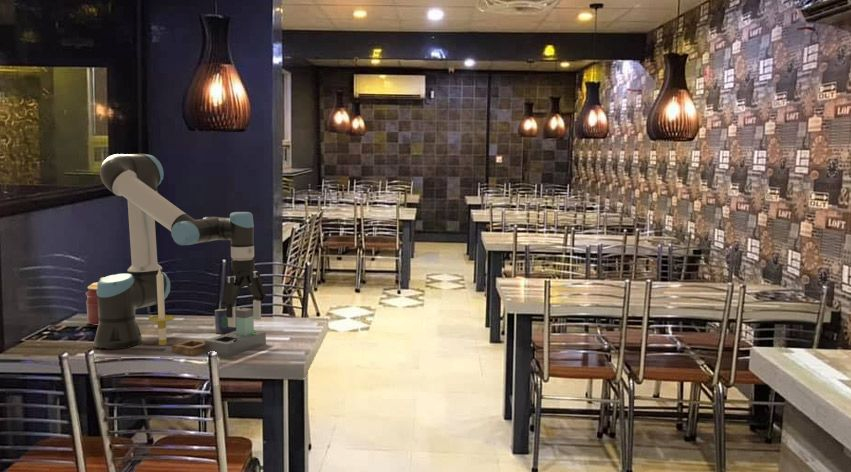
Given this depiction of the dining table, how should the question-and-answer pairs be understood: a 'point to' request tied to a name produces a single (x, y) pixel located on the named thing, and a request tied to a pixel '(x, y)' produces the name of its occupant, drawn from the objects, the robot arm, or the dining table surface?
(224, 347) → the port panel
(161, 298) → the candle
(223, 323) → the flask
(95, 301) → the canister
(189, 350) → the square wooden tray
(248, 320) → the green square bottle
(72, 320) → the dining table surface
